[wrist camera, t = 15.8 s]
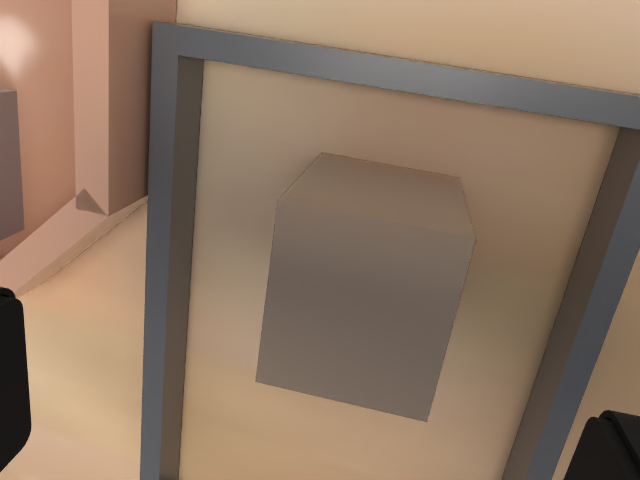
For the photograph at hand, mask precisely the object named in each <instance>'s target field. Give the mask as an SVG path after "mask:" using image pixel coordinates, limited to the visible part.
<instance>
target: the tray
mask: <svg viewBox="0 0 640 480" xmlns="http://www.w3.org/2000/svg"><path fill="white" fill-rule="evenodd" d="M204 59H206V60H212V61H218V62H224V63H231V64H237V65H243V66H249V67H255V68H262V69H268V70H274V71H280V72H286V73H292V74H299V75H305V76H311V77H317V78H323V79H330V80H336V81H342V82H348V83H354V84H361V85H367V86H373V87H379V88H385V89H391V90H398V91H404V92H410V93H416V94H422V95H429V96H435V97H441V98H447V99H453V100H459V101H466V102H472V103H478V104H484V105H490V106H497V107H503V108H509V109H515V110H521V111H528V112H534V113H540V114H546V115H552V116H558V117H565V118H571V119H577V120H583V121H589V122H596V123H602V124H608V125H614V126H620V127H621V129H620V132H619V135H618V138H617V141H616V144H615V147H614V150H613V153H612V156H611V159H610V162H609V165H608V168H607V171H606V174H605V177H604V180H603V182H602V185H601V188H600V191H599V194H598V197H597V200H596V203H595V206H594V209H593V212H592V215H591V218H590V221H589V224H588V227H587V230H586V233H585V236H584V239H583V242H582V244H581V247H580V250H579V253H578V256H577V259H576V262H575V265H574V268H573V271H572V274H571V277H570V280H569V283H568V286H567V289H566V292H565V295H564V298H563V301H562V304H561V306H560V309H559V312H558V315H557V318H556V321H555V324H554V327H553V330H552V333H551V336H550V339H549V342H548V345H547V348H546V351H545V354H544V357H543V360H542V363H541V366H540V368H539V371H538V374H537V377H536V380H535V383H534V386H533V389H532V392H531V395H530V398H529V401H528V404H527V407H526V410H525V413H524V416H523V419H522V422H521V425H520V428H519V430H518V433H517V436H516V439H515V442H514V445H513V448H512V451H511V454H510V457H509V460H508V463H507V466H506V469H505V472H504V475H503V478H502V480H551V479H552V476H553V474H554V471H555V468H556V466H557V463H558V460H559V458H560V455H561V453H562V450H563V447H564V445H565V442H566V439H567V437H568V434H569V432H570V429H571V426H572V424H573V421H574V418H575V416H576V413H577V411H578V408H579V405H580V403H581V400H582V397H583V395H584V392H585V390H586V387H587V384H588V382H589V379H590V376H591V374H592V371H593V369H594V366H595V363H596V361H597V358H598V355H599V353H600V350H601V348H602V345H603V342H604V340H605V337H606V334H607V332H608V329H609V327H610V324H611V321H612V319H613V316H614V313H615V311H616V308H617V306H618V303H619V300H620V298H621V295H622V293H623V290H624V287H625V285H626V282H627V279H628V277H629V274H630V272H631V269H632V266H633V264H634V261H635V258H636V256H637V253H638V251H639V248H640V95H638V94H631V93H625V92H619V91H612V90H606V89H599V88H593V87H586V86H580V85H573V84H567V83H560V82H554V81H547V80H541V79H534V78H528V77H522V76H515V75H509V74H502V73H496V72H489V71H483V70H476V69H470V68H463V67H457V66H450V65H444V64H437V63H431V62H425V61H418V60H412V59H405V58H399V57H392V56H386V55H379V54H373V53H366V52H360V51H353V50H347V49H340V48H334V47H327V46H321V45H315V44H308V43H302V42H295V41H289V40H282V39H276V38H269V37H263V36H256V35H250V34H243V33H237V32H230V31H224V30H218V29H211V28H205V27H198V26H192V25H185V24H177V23H166V22H155V21H153V33H152V68H151V104H150V140H149V175H148V211H147V247H146V282H145V318H144V354H143V389H142V425H141V461H140V480H178V473H179V456H180V440H181V424H182V407H183V391H184V374H185V358H186V341H187V325H188V308H189V292H190V275H191V259H192V243H193V226H194V210H195V193H196V177H197V160H198V144H199V127H200V111H201V94H202V78H203V62H204Z"/></svg>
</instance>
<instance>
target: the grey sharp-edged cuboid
mask: <svg viewBox="0 0 640 480" xmlns="http://www.w3.org/2000/svg"><path fill="white" fill-rule="evenodd" d="M23 230H25V229H24V211H23V193H22V175H21V157H20V139H19V121H18V104H17V91H16V90H10V89H5V88H0V241H1V240H3V239H5V238H7V237H10V236H12V235H14V234H16V233H18V232H20V231H23Z"/></svg>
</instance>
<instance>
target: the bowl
mask: <svg viewBox="0 0 640 480" xmlns="http://www.w3.org/2000/svg"><path fill="white" fill-rule="evenodd" d="M176 5H177V0H0V88H5V89H10V90H16V91H17V104H18V121H19V139H20V157H21V175H22V193H23V211H24V229H25V230H23V231H20V232H18V233H16V234H14V235H12V236H10V237H7V238H5V239H3V240H1V241H0V287H4V288H9V289H10V290H12V291H13V292H14V294H15V296H16V299H18V298H20V297H21V296H23V295H25V294H26V293H28V292H29V291H31V290H33V289H34V288H36V287H37V286H39V285H41V284H42V283H44V282H45V281H47V280H48V279H49V278H50V277H52V276H53V275H54V274H56V273H57V272H58V271H59V270H61V269H62V268H63V267H64V266H66V265H67V264H68V263H69V262H71V261H72V260H73V259H74V258H76V257H77V256H78V255H79V254H81V253H82V252H83V251H84V250H86V249H87V248H88V247H90V246H91V245H92V244H93V243H95V242H96V241H97V240H98V239H100V238H101V237H102V236H103V235H105V234H106V233H107V232H108V231H110V230H111V229H112V228H113V227H115V226H116V225H117V224H118V223H120V222H121V221H122V220H124V219H125V218H126V217H127V216H129V215H130V214H131V213H132V212H134V211H135V210H136V209H137V208H139V207H140V206H141V205H142V204H144V203H145V202H146V201H147V200H148V175H149V140H150V104H151V68H152V33H153V21H155V22H166V23H176Z"/></svg>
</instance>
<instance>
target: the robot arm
mask: <svg viewBox="0 0 640 480" xmlns="http://www.w3.org/2000/svg"><path fill="white" fill-rule="evenodd" d="M30 432H31V413H30V399H29V385H28V370H27V356H26V342H25V328H24V314H23V306H22V303H21V301H20V300H18V299H16V296H15V294H14V292H13V291H12V290H10V289H9V288H4V287H0V472H1V471H2V470H3V469H4V468H5V467H6V466H7V464H8V463H9V462H10V461H11V460H12V459H13V458H14V457H15V456H16V455H17V454H18V453H19V452H20V451H21V449H22V448H23V447H24V446H25V444H26V442H27V440H28V438H29V435H30ZM564 480H640V416H635V415H630V414H625V413H620V412H615V411H610V410H606V411H604V412H603V413H602V414H601V415H600V416H599V418H597V417H591V418H590V419H589V420H588V421H587V423H586V425H585V427H584V430H583V432H582V435H581V437H580V440H579V442H578V445H577V447H576V450H575V452H574V455H573V457H572V460H571V462H570V465H569V467H568V470H567V472H566V475H565V477H564Z"/></svg>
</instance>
